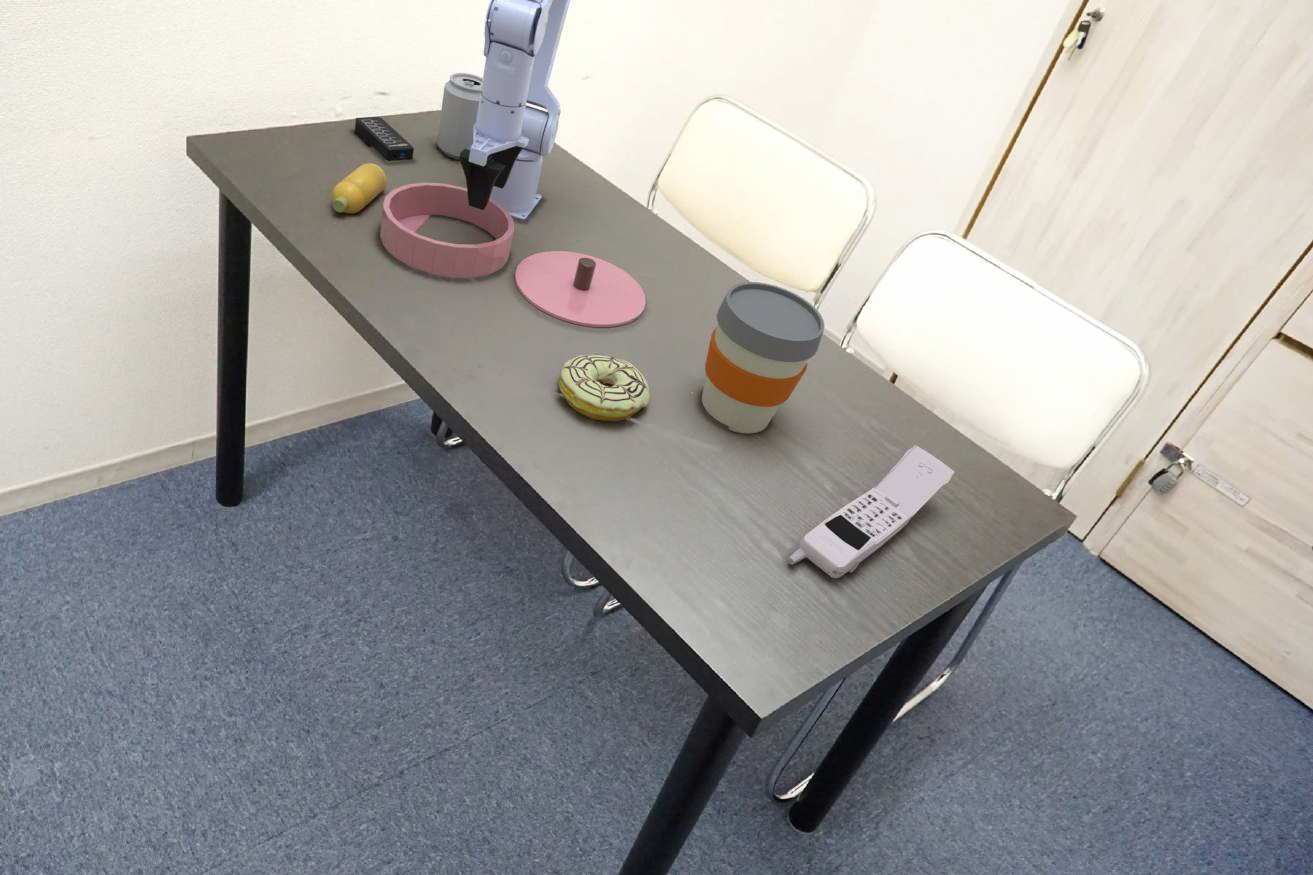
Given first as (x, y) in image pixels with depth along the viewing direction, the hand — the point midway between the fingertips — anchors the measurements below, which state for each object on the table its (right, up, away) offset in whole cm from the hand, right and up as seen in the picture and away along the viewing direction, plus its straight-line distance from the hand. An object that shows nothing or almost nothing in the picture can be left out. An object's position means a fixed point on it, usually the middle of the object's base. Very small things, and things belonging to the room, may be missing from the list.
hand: (486, 196), depth 127 cm
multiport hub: (-20, +13, +22) cm, 32 cm away
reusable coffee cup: (+32, -29, -8) cm, 44 cm away
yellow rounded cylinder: (-19, +1, +7) cm, 20 cm away
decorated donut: (+16, -28, -14) cm, 35 cm away
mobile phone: (+46, -43, -19) cm, 66 cm away
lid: (+12, -12, +3) cm, 17 cm away
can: (-9, +14, +28) cm, 32 cm away
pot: (-6, -6, +4) cm, 9 cm away
